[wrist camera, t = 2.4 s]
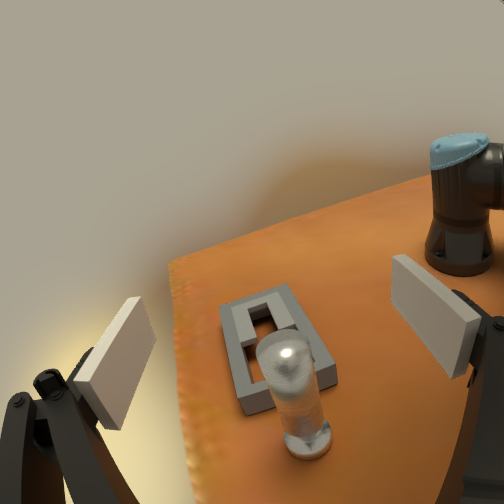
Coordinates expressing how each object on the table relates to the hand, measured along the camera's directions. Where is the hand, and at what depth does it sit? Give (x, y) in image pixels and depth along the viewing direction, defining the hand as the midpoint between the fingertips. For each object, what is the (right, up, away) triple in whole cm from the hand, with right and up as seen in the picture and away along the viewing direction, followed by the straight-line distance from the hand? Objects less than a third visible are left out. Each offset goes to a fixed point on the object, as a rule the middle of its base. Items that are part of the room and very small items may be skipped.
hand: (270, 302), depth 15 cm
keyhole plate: (+2, -12, +28) cm, 31 cm away
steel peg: (+5, -18, +13) cm, 23 cm away
